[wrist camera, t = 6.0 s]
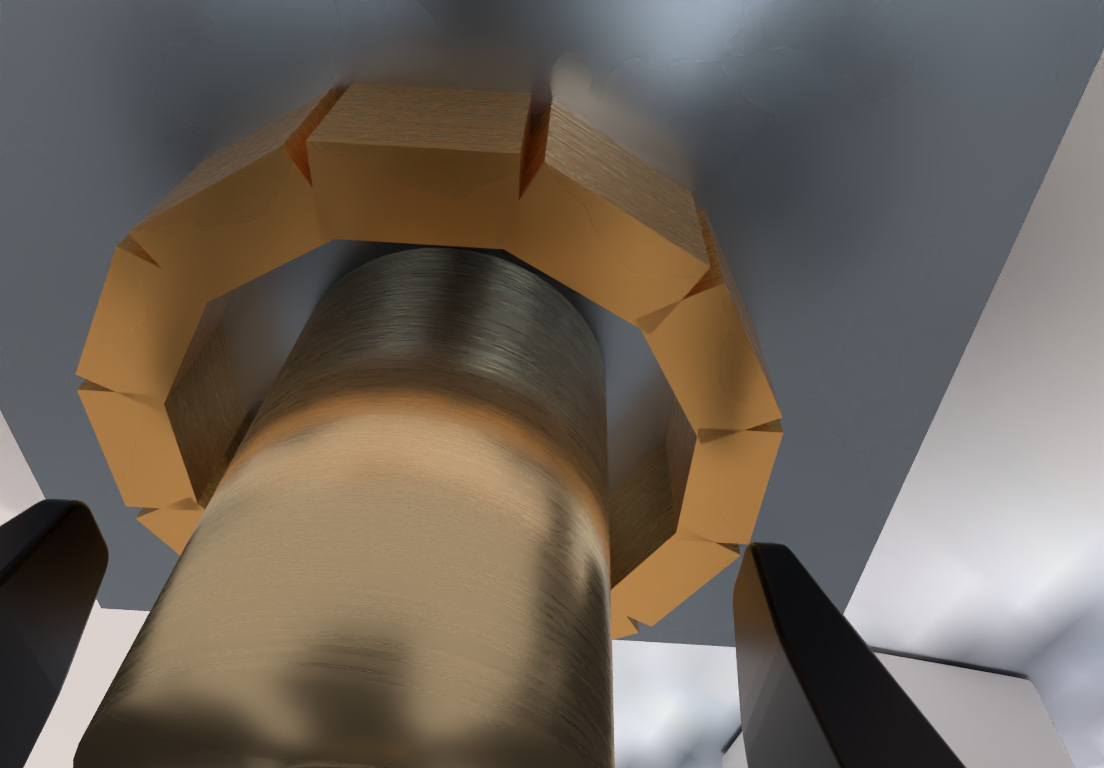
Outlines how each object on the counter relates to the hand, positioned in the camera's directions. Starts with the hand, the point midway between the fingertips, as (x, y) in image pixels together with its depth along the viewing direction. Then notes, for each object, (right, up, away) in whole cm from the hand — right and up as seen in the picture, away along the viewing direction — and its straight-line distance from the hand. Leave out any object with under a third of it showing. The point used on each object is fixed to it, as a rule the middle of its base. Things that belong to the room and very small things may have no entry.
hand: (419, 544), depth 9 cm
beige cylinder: (0, +2, +2) cm, 3 cm away
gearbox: (-1, +5, +6) cm, 8 cm away
